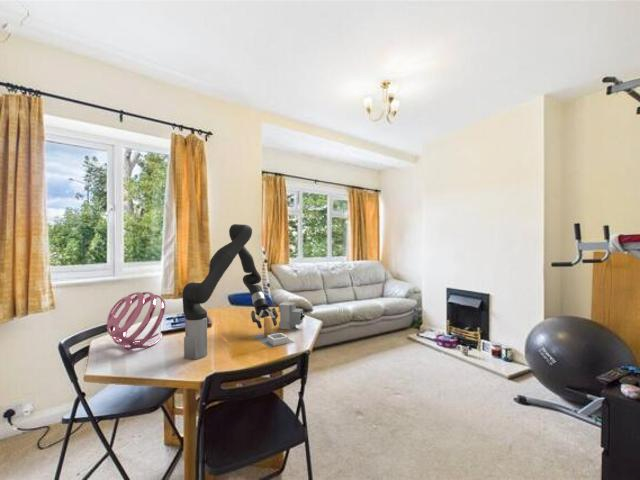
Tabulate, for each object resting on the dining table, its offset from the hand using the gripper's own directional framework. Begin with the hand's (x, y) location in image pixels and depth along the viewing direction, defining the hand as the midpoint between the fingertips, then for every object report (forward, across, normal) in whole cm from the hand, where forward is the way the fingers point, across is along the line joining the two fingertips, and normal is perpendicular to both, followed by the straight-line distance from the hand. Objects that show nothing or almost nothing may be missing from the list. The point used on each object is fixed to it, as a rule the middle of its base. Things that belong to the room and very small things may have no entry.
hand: (268, 326), depth 165 cm
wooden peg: (+3, 0, +4) cm, 5 cm away
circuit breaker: (-1, +19, +10) cm, 21 cm away
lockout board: (+8, 0, +1) cm, 8 cm away
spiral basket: (-14, -60, +23) cm, 65 cm away
